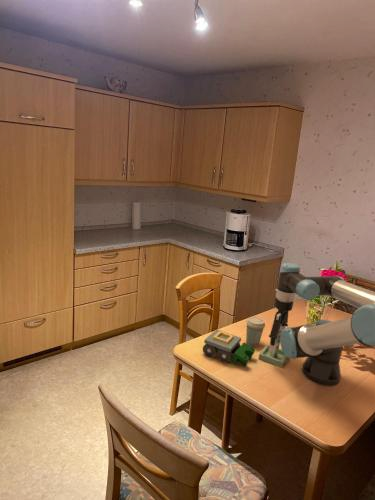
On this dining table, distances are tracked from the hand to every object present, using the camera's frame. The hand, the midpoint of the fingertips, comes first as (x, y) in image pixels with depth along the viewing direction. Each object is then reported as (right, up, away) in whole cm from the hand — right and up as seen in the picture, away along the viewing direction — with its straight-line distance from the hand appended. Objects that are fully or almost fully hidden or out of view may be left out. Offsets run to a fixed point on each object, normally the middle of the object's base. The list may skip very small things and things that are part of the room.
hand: (276, 345), depth 162 cm
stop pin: (-1, -6, +2) cm, 6 cm away
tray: (-1, -6, +2) cm, 6 cm away
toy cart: (-24, -4, 0) cm, 24 cm away
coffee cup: (-8, -3, +12) cm, 15 cm away
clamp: (-15, -6, -3) cm, 17 cm away
